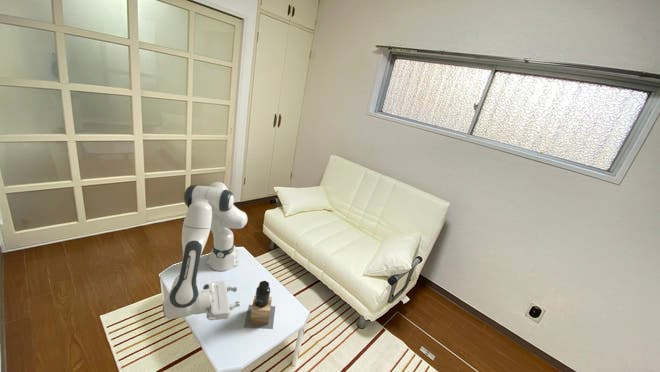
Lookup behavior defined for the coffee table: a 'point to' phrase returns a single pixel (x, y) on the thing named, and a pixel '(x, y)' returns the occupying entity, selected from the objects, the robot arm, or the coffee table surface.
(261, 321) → the tower base
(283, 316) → the coffee table surface
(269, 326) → the mat
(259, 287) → the supplement bottle
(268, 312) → the tower top
